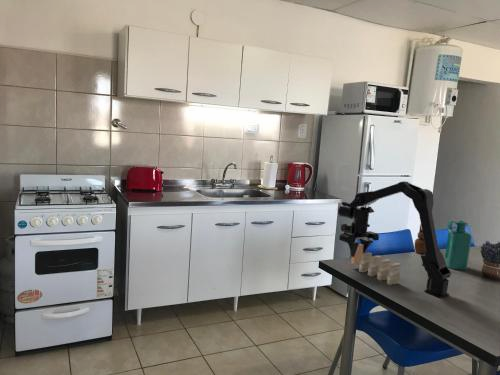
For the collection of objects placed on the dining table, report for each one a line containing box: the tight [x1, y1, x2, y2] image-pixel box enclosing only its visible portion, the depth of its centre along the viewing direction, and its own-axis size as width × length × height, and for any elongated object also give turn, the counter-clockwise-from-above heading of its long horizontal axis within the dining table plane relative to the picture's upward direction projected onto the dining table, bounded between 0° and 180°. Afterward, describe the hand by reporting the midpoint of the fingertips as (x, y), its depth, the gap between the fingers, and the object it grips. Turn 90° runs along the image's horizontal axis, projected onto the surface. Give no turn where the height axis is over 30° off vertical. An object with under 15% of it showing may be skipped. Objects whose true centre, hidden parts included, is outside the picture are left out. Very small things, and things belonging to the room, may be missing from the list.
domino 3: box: [367, 255, 382, 277], centre depth 175 cm, size 2×5×8 cm, turn 122°
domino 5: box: [386, 262, 402, 286], centre depth 166 cm, size 2×5×8 cm, turn 122°
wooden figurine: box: [413, 223, 426, 255], centre depth 216 cm, size 7×6×15 cm
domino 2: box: [358, 251, 373, 273], centre depth 179 cm, size 2×5×8 cm, turn 122°
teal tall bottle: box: [444, 218, 473, 271], centre depth 196 cm, size 10×8×22 cm
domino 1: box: [350, 243, 364, 265], centre depth 183 cm, size 2×5×8 cm, turn 122°
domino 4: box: [376, 258, 392, 281], centre depth 171 cm, size 2×5×8 cm, turn 122°
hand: (357, 256), depth 183 cm, fingers closed on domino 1, 5 cm apart
